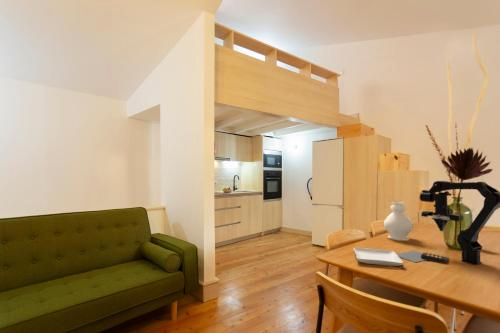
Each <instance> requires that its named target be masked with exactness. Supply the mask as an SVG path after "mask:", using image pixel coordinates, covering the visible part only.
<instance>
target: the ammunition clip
mask: <svg viewBox="0 0 500 333" xmlns="http://www.w3.org/2000/svg"><path fill="white" fill-rule="evenodd" d="M422 253H423V254H421V258H423V259H427V260H426V261H433V262H438V263H442V264H447V260H448V255H446V254H445V255H443V254H441V255H440V254H439V253H437V254H436V253H434V252H431V251H429V252H428V251H425V252H422Z"/></svg>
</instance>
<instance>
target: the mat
mask: <svg viewBox="0 0 500 333" xmlns="http://www.w3.org/2000/svg"><path fill="white" fill-rule="evenodd" d="M423 253H424V252H419V251H416V250H410V251H405V252H400V253H399V252H398V253H396V254H397V255H398V257H399V258H400V259H401V260H406V261H409V262H413V263H420V262H423V261H428V260H427V259H423V258H421V254H423Z"/></svg>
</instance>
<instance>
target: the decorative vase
mask: <svg viewBox="0 0 500 333" xmlns="http://www.w3.org/2000/svg"><path fill="white" fill-rule="evenodd" d="M404 204H405V201H404V202H403V201H391V205H390V210H391V211H392V212H391V213H389V215H388V216H387V217H386V218H385V219H384V221H383V227H384V228H385V230H386V231H387V233H389V235H388V236H387V237H388V239H390V240H395V241H403V242H404V241H409V240H410V238H409V237H408V236H409V235H410V233H412V231H413V229H414V223H413V221H412V219H410V217H409V216H408V215H407V214H406V213H405V211H406V210H407V207H406V206H405V205H404Z"/></svg>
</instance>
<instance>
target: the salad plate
mask: <svg viewBox="0 0 500 333" xmlns="http://www.w3.org/2000/svg"><path fill="white" fill-rule="evenodd" d="M353 251H354V253H355V257H356V260H358V261H359V262H360V263H363V264H368V265H378V266H388V267H389V266H391V267H394V266H396V267H397V266H398V267H399V266H401V265H403V264H404V261H403V259H402V258H399V257H398V255H397V254H398V253H396V252H395V250H390V249H377V248H366V247H365V248H364V247H353Z"/></svg>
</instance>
